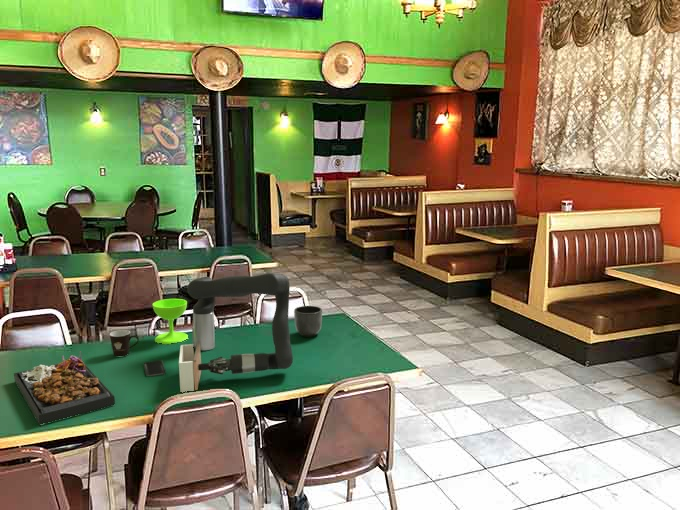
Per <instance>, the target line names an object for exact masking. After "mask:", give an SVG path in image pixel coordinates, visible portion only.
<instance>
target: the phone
mask: <svg viewBox="0 0 680 510" xmlns="http://www.w3.org/2000/svg"><path fill="white" fill-rule="evenodd" d="M163 361H164V360H161V359H160V360H153V361H145V362H143V368H144V374H146V375H145V377H146V376H152V377H157V376H156V375H159V376H164V374H165V373H167V372H166V368H165V366H164V362H163ZM165 375H166V374H165Z"/></svg>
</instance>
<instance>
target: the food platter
mask: <svg viewBox="0 0 680 510" xmlns="http://www.w3.org/2000/svg"><path fill="white" fill-rule="evenodd" d="M81 353H82V352H79V357H77V356H76V355H70V356H69V358H68V359H65V357H64V355H62V362H60V363H55V364H51V365H45V364H39V365H38V366H34V367H32V369H27V370H23V371H19V372H14V373H13V376H14V383H15V382H16V383H17V385H18V387H19V389H20V391H21V392H20V391H19V392H20V393H22V394H23V396H24V398H25V399H24V398H23V399H24V401H25V400H26V401H27V403H28V405H29V406H28V405H27V406H28V408H29V407H30V408H31V410H32V412H33V413H32V412H31V413H32V415H33V414H34V415H33V417H34V416H35V417H36V419H37V420H36V419H35V420H36V422H37V421H38V422H37V424H38V423H39V424H38V426H39V425H40V424H43V423H48V422H52V421H55V420H59V419H63V418H67V417H70V416H75V415H78V414H82V415H84V414H83V413H86V414H88V413H87V412H89V413H91V412H90V411H93V412H95V411H94V410H97V409H100V410H102V409H101V408H104V407H107V406H111V405H114V404H115V405H116V399H115V395H114V394H113V393H112V392H111V391H110V390H109V389H108V388H107V387H106V386H105V384H104V383H103V382H102V381H101V380H100V378H98V377H97V376H96V374H94V373H93V371H91V370H90V368H89V367H88V366H87V365H86V364H85V362H84V361H83V360H82V356H81V355H82V354H81ZM16 383H15V384H16ZM17 385H16V386H17ZM18 387H17V388H18ZM19 389H18V390H19ZM22 394H21V395H22ZM23 396H22V397H23ZM26 401H25V402H26ZM27 403H26V404H27ZM111 407H112V406H111ZM30 408H29V409H30ZM104 409H105V408H104ZM31 410H30V411H31ZM97 411H98V410H97ZM35 417H34V418H35ZM75 417H76V416H75Z"/></svg>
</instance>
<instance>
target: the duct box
mask: <svg viewBox="0 0 680 510" xmlns="http://www.w3.org/2000/svg"><path fill="white" fill-rule="evenodd" d="M179 348H180V349H179V358H178V368H179V369H178V371H179V372H178V373H179V388H180V392H182V393H183V392H185V391H186V392H185V393H188V392H187V391H194V392H195V382H194V361H193V360H194V356H195V352H194V348H193V343H192V344H191V343H190V344H180V346H179ZM182 393H181V394H182ZM183 394H184V393H183Z"/></svg>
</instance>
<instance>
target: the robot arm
mask: <svg viewBox="0 0 680 510" xmlns="http://www.w3.org/2000/svg"><path fill="white" fill-rule="evenodd" d="M186 289H187V294H188V295H189V296H190V297H191V298H193V299H194V300H197V302H196V303H195V304H194V305H193V306H192V313H193V314H192V318H193V327H191V328H192V329H191V335H192V344H193V347H194V348H193V349H195V350H196V347H197V343H199V342H200V351H209V350H213V349H215V347H216V342H215V341H216V340H215V338H216V337H215V333H216V332H215V313H214V310H215V305H216V298H242V297H246V296H250V295H252V294H254V295H255V294H257V295H260V294H261V295H268V296H274V298H275V311H274V316H273V319H272V323H271V332H272V333H271V334H272V342H273V346H274V351H275V352H270V353H264V352H263V353H262V352H261V353H242V354H231V355H230V358H223V357H222V356H219V357H217V358H213V359H211V360H209V362H205V363H201V364H199V366H198V367H199V370H201V371H209V372H210V373H212V374H217V375H223V374H224V372H229V371H230V373H231V374H232V375H236V374H247V373H252V372H263V371H267V370H287V369H289V368H290V367H291V366H292V365H293V363H294V356H293V350H292V346H291V345H292V344H291V335H290V325H289V324H290V323H289V304H290V302H289V301H290V280H289V278H288V277H287V275H285V274H283V273H275V272H270V273H264V274H259V275H253V276H251V275H230V276H225V277H221V278H216V279H212V278H211V277H210V276H202V277H199V278H195V279H192V281H190V282H189V283H188V285H187V288H186Z"/></svg>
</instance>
